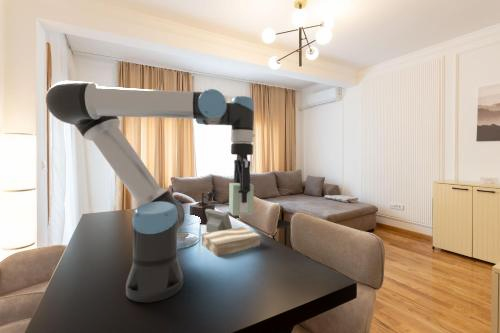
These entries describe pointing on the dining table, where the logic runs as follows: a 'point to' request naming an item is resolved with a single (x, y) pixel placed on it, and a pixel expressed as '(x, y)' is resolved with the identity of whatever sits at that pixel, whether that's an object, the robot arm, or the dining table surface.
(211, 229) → the digital clock
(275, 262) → the dining table surface
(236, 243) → the birch box
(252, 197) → the sage block
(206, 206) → the dark brown irregular piece
